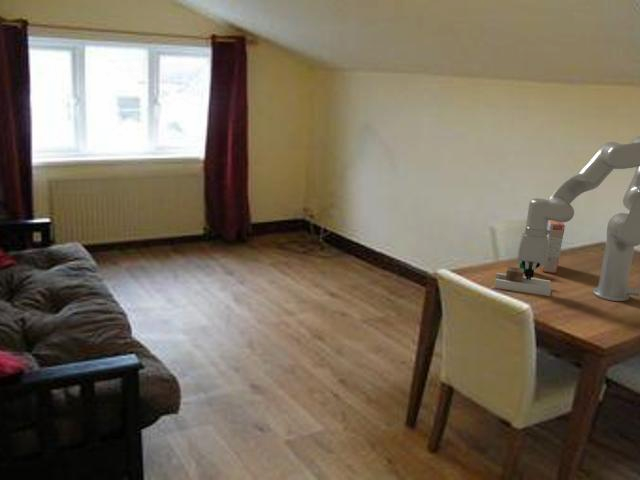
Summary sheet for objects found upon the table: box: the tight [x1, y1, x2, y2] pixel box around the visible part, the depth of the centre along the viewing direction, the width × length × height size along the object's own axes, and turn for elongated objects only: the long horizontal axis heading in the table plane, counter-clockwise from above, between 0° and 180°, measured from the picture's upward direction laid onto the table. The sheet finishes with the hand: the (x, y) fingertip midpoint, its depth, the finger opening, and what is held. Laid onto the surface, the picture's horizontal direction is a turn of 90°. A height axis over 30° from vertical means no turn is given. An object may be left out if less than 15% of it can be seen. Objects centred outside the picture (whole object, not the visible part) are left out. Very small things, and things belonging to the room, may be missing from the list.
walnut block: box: [505, 266, 525, 283], centre depth 236 cm, size 6×6×6 cm
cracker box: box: [539, 220, 566, 274], centre depth 260 cm, size 14×6×21 cm, turn 168°
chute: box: [494, 272, 552, 297], centre depth 236 cm, size 20×9×3 cm, turn 72°
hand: (528, 278), depth 234 cm, fingers closed
